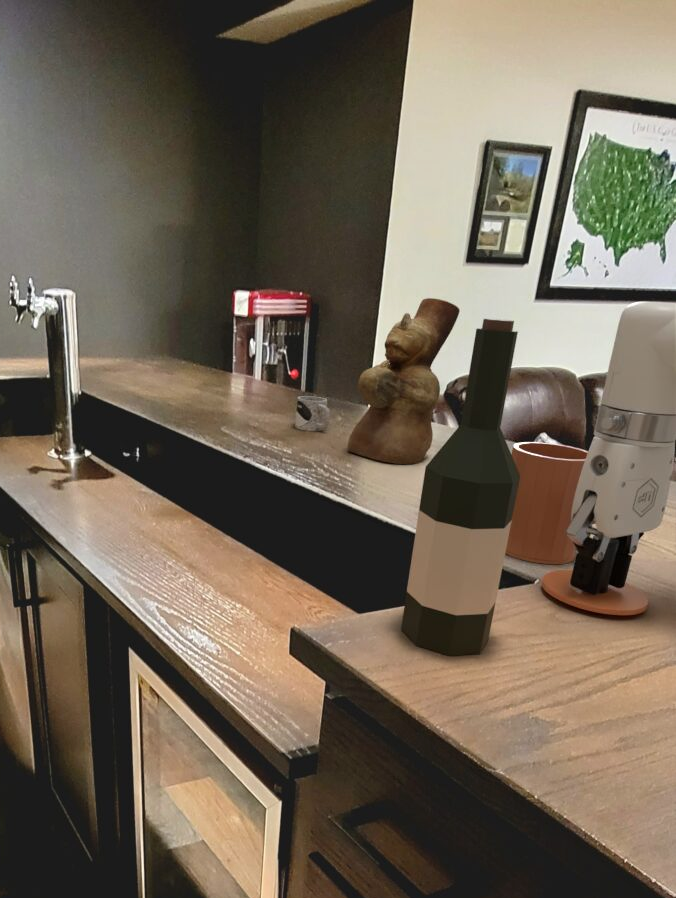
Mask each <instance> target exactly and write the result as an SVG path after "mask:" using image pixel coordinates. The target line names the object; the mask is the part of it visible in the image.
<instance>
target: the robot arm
mask: <svg viewBox="0 0 676 898" xmlns="http://www.w3.org/2000/svg"><path fill="white" fill-rule="evenodd" d="M615 333H616V334H615V338H614V343H613V347H612V352H611V356H610V360H609V364H608V369H607V372H606V377H605V382H604V386H603V391H602V395H601V399H600V404H599V408H598V412H597V417H596V422H595V426H594V430H593V435H594V437H593V438H592V441H591V443H590V446H589V449H588V450H587V451H588V453H587V456H586V459H585V462H584V465H583V468H582V471H581V474H580V477H579V481H578V485H577V488H576V492H575V496H574V500H573V505H572V512H571V521H572V522H571V524H570V526H569V527H568V529H567V531H566V536H567V537H569V538H570V539H571V540H572V541H573V543H574V545H575V549H574V551H575V558H574V563H573V567H572V570H573V572H572V576H571V580H570V584H571V585H572V586H573V587H576V588H578V589H580V590H582V591H585V592H587V593H589V594H591V595H596V594H598V593H599V590H600V586H601V582H602V578H603V574H604V570H605V566H606V561H604V560H602V559H603V557H604V554H605V551H606V549H607V546H608V543H609V540H610V538H615V539H617V540H619V546H618V550H617V554H616V558H615V562H614V566H613V570H612V574H611V578H610V582H609V585H611V586H614V587H616V588H623V587H624V586H625V583H627V578H628V573H629V570H630V567H631V562H632V559H633V555H635V553H636V552H637V550H638V545H639V541H640V540H641V538H642V537H643V536H644V534H645V533H647V532H651V531H653V530H655V529H657V528H658V527H659V526H661V524H662V522H663V518H664V514H665V511H666V506H667V502H668V497H669V493H670V488H671V482H672V476H673V471H674V462H675V454H676V453H675V452H676V448H675V447H676V302H666V301H665V302H664V301H635V302H632V303H630V304H628V305H626V307H624V309H623V310H622V312H621V314H620V317H619V321H618V325H617V329H616V332H615ZM593 525H595V527H593ZM591 535H593V536H598V537H599V539H598V542H597V545H596V543H595V541H594V539H593V537H591Z"/></svg>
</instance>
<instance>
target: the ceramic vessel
mask: <svg viewBox="0 0 676 898" xmlns="http://www.w3.org/2000/svg"><path fill="white" fill-rule="evenodd" d="M460 310H461V309H460V308H459V307H458V305H456V304H454V303H452V302H449V301H447V300H444V299H440V298H435V297H434V298H431V297H427V298H423V299H422V300H421V302H420V304H419V306H418V308H417V311H416V313H415V315H414V317H413V318H411V314H410V312H405V313H404V314H403V316H402V318H401V320H400V321H398V322H396V323H395V324H394V325H393V326H392V328H391V329H390V330H389V332H388V333H387V336H386V339H385V342H384V349H385V354H384V356H385V358H386V359H385V360H383V361H382V362H381V363H380V364H377V365H375V366H373V367H370V368H368V369H365V370H364V371H363V372H362V373H361V374H360V376H359V378H358V384H357V392H358V395H359V396H360V398H361V399H362V401H363V402H364V403H365V404H366V405H369V408H368V409H366V412H365V413H364V414H363V415H362V417H361V419H359V421H358V422H357V423H356V424H355V426H354V427H353V429H352V432H351V433H350V435H349V438H348V441H347V450H348V451H349V452H350V453H354V454H356V455H359V456H362V457H366V458H369V459H372V460H375V461H379V462H383V463H391V464H394V465H395V464H397V465H413V464H418V463H420V462H421V461H422V460H423V459H424V458H425V456H426V454H427V453H428V452H429V450H430V449H431V446H432V443H433V438H434V437H433V435H434V433H433V426H432V420H433V415H434V411H435V408H436V405H437V403H438V400H439V398H440V396H441V395H440V394H441V384H440V381H439V378H438V377H437V375H436V373H434V372H433V370H432V369H431V367H432V365H433V363H434V361H435V360H436V358H437V356H438V354H439V353H440V351H441V349H442V347H443V346H444V345H445V343H446V341H447V339H448V338H449V336H450V334H451V332H452V331H453V328H454V327H455V324H456V322H457V319H458V318H459V315H460Z"/></svg>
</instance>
